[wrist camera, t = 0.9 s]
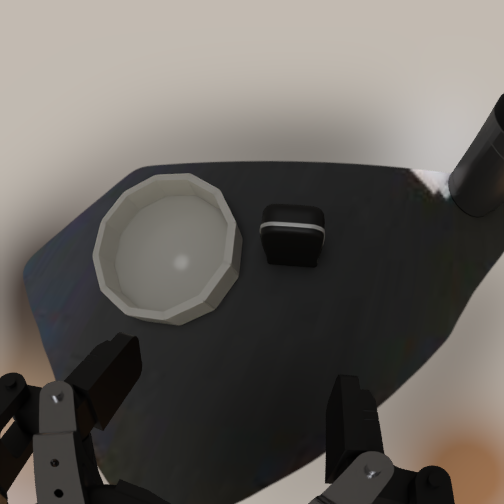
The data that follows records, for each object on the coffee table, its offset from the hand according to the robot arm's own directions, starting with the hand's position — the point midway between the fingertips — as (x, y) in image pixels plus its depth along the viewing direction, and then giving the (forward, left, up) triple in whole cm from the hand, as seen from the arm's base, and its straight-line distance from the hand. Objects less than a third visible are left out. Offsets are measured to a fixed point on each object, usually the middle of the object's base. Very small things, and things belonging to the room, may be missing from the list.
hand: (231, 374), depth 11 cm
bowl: (+15, -14, -28) cm, 35 cm away
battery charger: (-2, -15, -28) cm, 32 cm away
